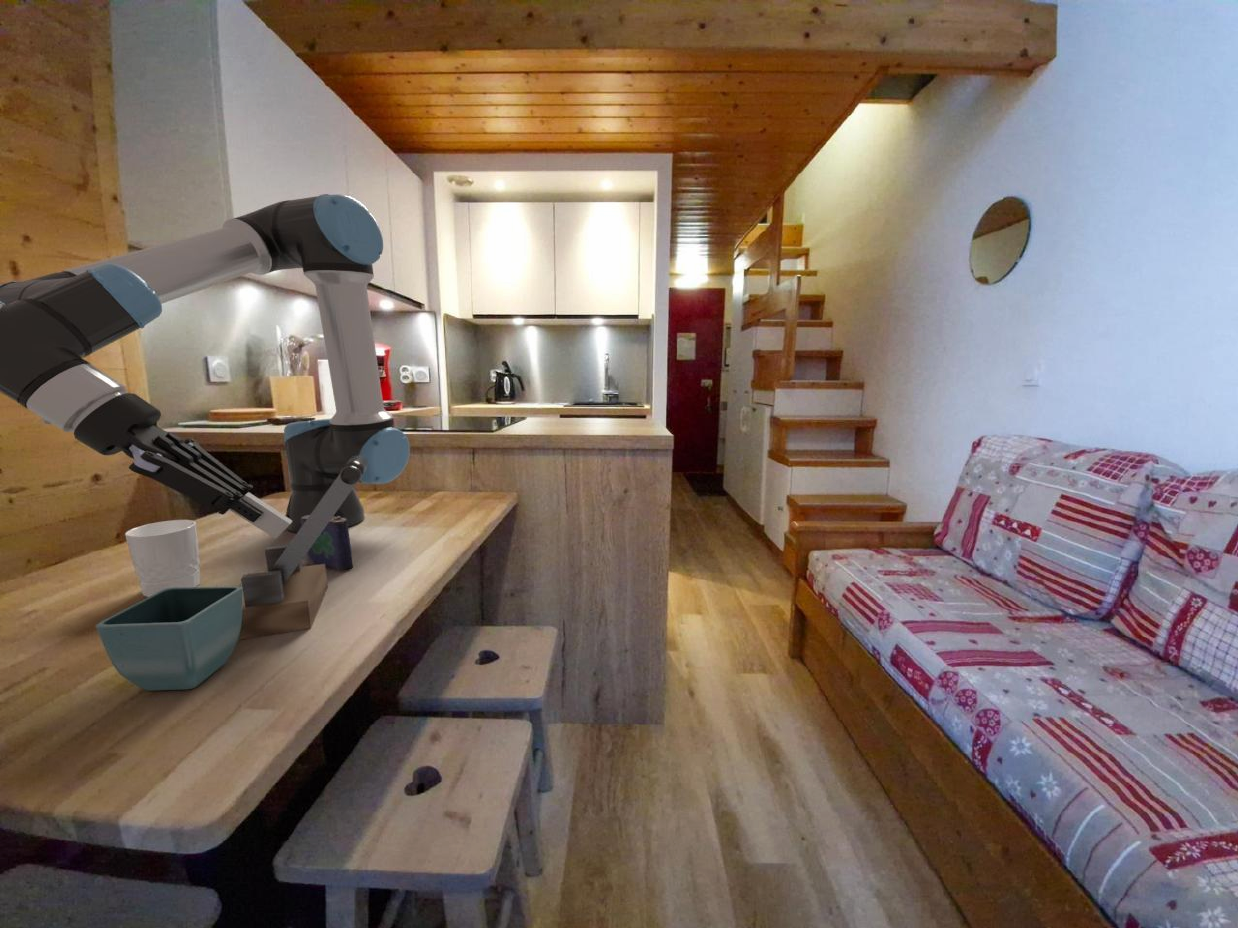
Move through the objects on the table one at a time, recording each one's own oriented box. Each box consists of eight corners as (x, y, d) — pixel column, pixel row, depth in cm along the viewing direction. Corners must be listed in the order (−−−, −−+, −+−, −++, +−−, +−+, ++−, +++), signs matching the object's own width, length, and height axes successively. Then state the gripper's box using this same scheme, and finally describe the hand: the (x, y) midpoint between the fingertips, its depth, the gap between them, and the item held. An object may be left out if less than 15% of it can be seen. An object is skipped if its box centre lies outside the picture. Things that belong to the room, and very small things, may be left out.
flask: (302, 566, 84) (295, 507, 82) (317, 560, 87) (310, 503, 85) (345, 573, 82) (339, 512, 80) (358, 566, 85) (353, 507, 83)
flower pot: (179, 654, 58) (166, 586, 57) (255, 652, 59) (244, 585, 57) (108, 704, 50) (91, 625, 48) (198, 701, 50) (184, 623, 49)
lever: (250, 596, 62) (346, 463, 64) (270, 568, 71) (354, 452, 72) (271, 604, 63) (364, 474, 65) (288, 576, 72) (371, 461, 73)
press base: (219, 643, 61) (209, 584, 59) (251, 597, 73) (244, 547, 71) (311, 628, 65) (304, 572, 63) (327, 587, 76) (322, 539, 75)
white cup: (165, 602, 71) (152, 538, 69) (123, 597, 73) (110, 534, 71) (218, 580, 79) (208, 521, 77) (179, 575, 80) (169, 518, 78)
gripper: (107, 428, 63) (276, 535, 72) (36, 443, 51) (249, 568, 61) (153, 387, 64) (313, 498, 73) (93, 392, 52) (293, 523, 62)
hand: (284, 529), depth 67 cm, fingers closed
